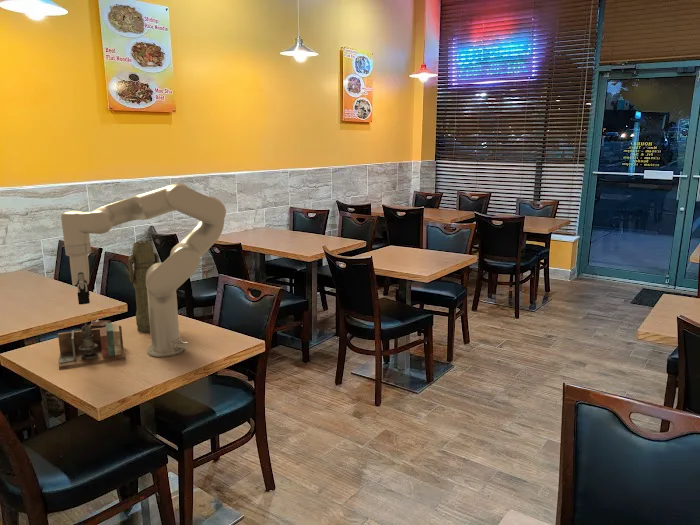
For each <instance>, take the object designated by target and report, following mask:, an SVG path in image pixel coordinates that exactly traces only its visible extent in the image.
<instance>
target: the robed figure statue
mask: <svg viewBox="0 0 700 525" xmlns="http://www.w3.org/2000/svg"><path fill="white" fill-rule="evenodd" d="M131 253H132V254H131V255H129V256H128V258H127V264H128V277H129V282H130V284H131V283H132V284H133V286H132V287H133V289H134V290H135V302H136V303H135V304H136V312H135V322H136V327H137V328H136V329H137V332H138V333H142V334H147V333H148V334H149V333H150V322H149V308H148V294H147V287H146V273H147V271H148V269H149V268H150V267H151V266H152V265H153V264H155V263H160V257H159V254H158V253H157V252H155V251H154V247H153V245H152V243H151V242H150V241H149V240H138V241H136V242H133V245H132V252H131Z"/></svg>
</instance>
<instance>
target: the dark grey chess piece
mask: <svg viewBox="0 0 700 525" xmlns="http://www.w3.org/2000/svg"><path fill="white" fill-rule="evenodd" d="M89 325H90V324H88V323H87V322H85V323H84V325H83V326H82V327H81V330H82V336H81V337H82V338H83V345H82V346H80V347H79V349H80V351H81V353H82V354H84V355H83V356H82V357H81V359H84V360H88V359H93V358H96V357H97V356H98V354H97V353H95V352H96V351H97V347H98V344H95V343H93V338H92V336H93V334H92V332H91V326H89Z"/></svg>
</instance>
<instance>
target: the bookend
mask: <svg viewBox="0 0 700 525" xmlns="http://www.w3.org/2000/svg"><path fill="white" fill-rule="evenodd" d="M74 331H75V330H74V329H73V330H71V332H72V348H73V352H66V353H59V358H58V359H59V360H58V365H59V364H61V363H68V362H74V361H76V343H75V334H74Z"/></svg>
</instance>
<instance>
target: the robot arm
mask: <svg viewBox="0 0 700 525" xmlns="http://www.w3.org/2000/svg"><path fill="white" fill-rule="evenodd" d="M174 211H177V212H179V213H181V214H183V215H186V216H188V217H190V218H193V219H195V220H198V223H197V225H195V227H194V228H193V229H192V230H191V231H190V232H189V233H188V234H187V235H186V236H185V237H184V238H182V239H181V240H180V241H179V242H178V243H177V244H176V245H174V246H173V247H172V248H171V250H170V254H169V256H168V257H167V258H166V259H165V260H164V261H163V262H159V263H155V262H154V264H153V265H152V266H151V267H150V268H149V269H148V271H147V273H146V287H147V294H148V308H149V322H150V345H149V346H148V347H147V349H146V353H147V354H148V355H149V356H152V357H159V358H161V357H162V358H164V357H172V356H174V355H175V356H176V355H178V354H181V353H182V352H183V351H184V350H188V346H189V342H188V341H183V337H182V336H180V328H179V325H180V324H179V314H178V298H177V297H178V296H177V290H178V288H180V287H181V286H182V285H184V283H185V282H187V280H188V279H189V278H191V276H193V275H194V274H195V272H196V271H197V270H198V268H199V266H200V265H201V257H203V256H204V255H205V254H206V252H208V251H209V249H210V248H211V247H212V246H214V245H215V243H216V242H217V241H218V240H219V239H220V237H221V235H222V232H223V229H224V225H225V218H226V215H227V210H226V207H225V205H224V203H223V202H222V201H221V200H220V199H218V198H216V197H215V196H208V195H206V194H203V193H201V192H198V191H197V190H194V189H193V188H190V187H189V186H188V185H186V184H184V183H182V182H176V183H171V184H170V185H169V184H168V185H166V186H163V187H160V188H157V189H153V190H150V191H147V192H143V193H139V194H137V195H134V196H132V197H128V198H125V199H121V200H119V201H115V202H113V203H110V204H105V205H104V206H100V207H98V208H96V209H94V210H93V211H90V212H85V211H82V210H70V211H64V212H63V213H62V214H61V215H60V219H61V229H62V236H63V243H64V250H65V256H67V257H69V265H70V267H69V268H70V274H71V283H72V286H73V287H75V286H77V300H78V301H77V302H78V305H80V306H81V305H87V304H90V303H91V302H90V301H91V300H90V288H89V283H90V264H89V263H90V262H89V256H88V255H90V254H92V246H91V238H90V234H96V235H104V234H107V233H108V232H110V231H111V230H112V228H113V227H115V226H118V225H119V226H120V225H122V224H125V223H129V222H133V221H139V220H140V221H144V220H151V219H153V218H157V217H159V216H162V215H164V214H168V213H171V212H174Z"/></svg>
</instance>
